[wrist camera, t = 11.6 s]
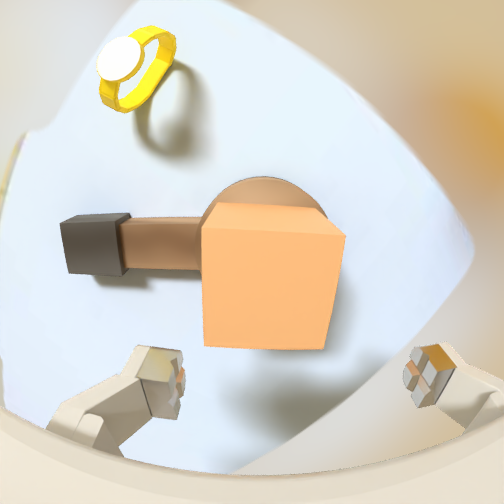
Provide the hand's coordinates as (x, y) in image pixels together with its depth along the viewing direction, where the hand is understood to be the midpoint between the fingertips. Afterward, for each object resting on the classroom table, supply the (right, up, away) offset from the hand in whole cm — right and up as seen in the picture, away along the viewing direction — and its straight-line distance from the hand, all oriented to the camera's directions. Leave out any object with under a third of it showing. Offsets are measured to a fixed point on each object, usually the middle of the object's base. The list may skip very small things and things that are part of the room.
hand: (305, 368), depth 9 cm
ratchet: (-6, +5, +12) cm, 14 cm away
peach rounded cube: (-1, +4, +9) cm, 10 cm away
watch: (-9, +16, +8) cm, 20 cm away
